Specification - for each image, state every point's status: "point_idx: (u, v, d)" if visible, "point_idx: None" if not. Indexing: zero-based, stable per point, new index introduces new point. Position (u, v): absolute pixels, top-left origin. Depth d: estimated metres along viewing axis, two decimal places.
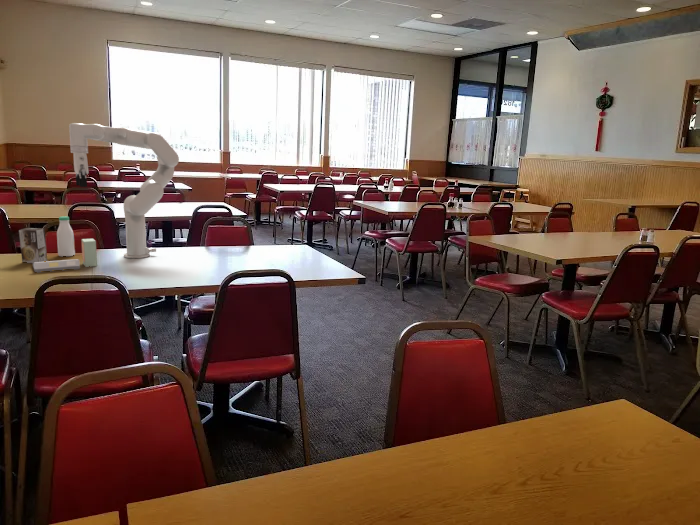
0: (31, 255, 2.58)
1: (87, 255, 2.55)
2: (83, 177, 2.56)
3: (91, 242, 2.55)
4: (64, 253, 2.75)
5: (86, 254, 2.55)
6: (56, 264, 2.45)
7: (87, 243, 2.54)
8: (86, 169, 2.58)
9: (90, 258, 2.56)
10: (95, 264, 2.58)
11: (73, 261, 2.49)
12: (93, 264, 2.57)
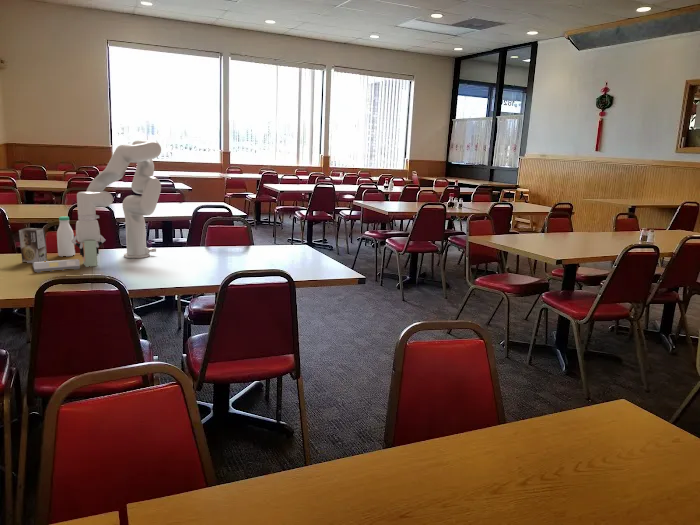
0: (31, 255, 2.58)
1: (87, 255, 2.55)
2: None
3: (91, 242, 2.55)
4: (64, 253, 2.75)
5: (86, 254, 2.55)
6: (56, 264, 2.45)
7: (87, 243, 2.54)
8: None
9: (90, 258, 2.56)
10: (95, 264, 2.58)
11: (73, 261, 2.49)
12: (93, 264, 2.57)
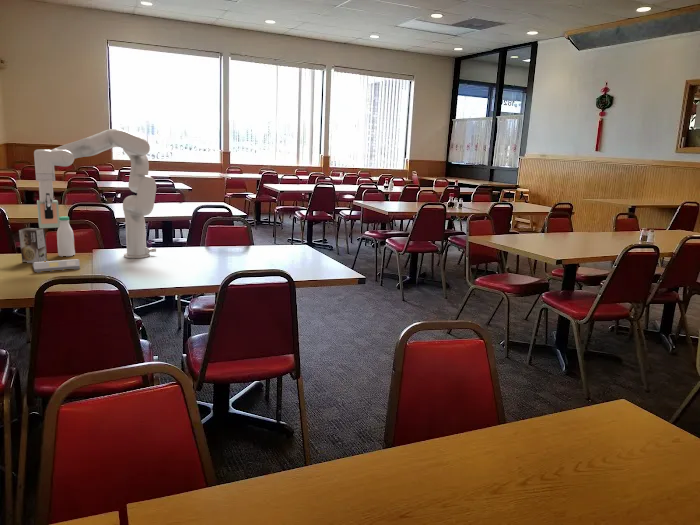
0: (31, 255, 2.58)
1: (58, 215, 2.48)
2: None
3: None
4: (64, 253, 2.75)
5: (58, 213, 2.47)
6: (56, 264, 2.45)
7: (57, 202, 2.47)
8: None
9: None
10: None
11: (73, 261, 2.49)
12: None
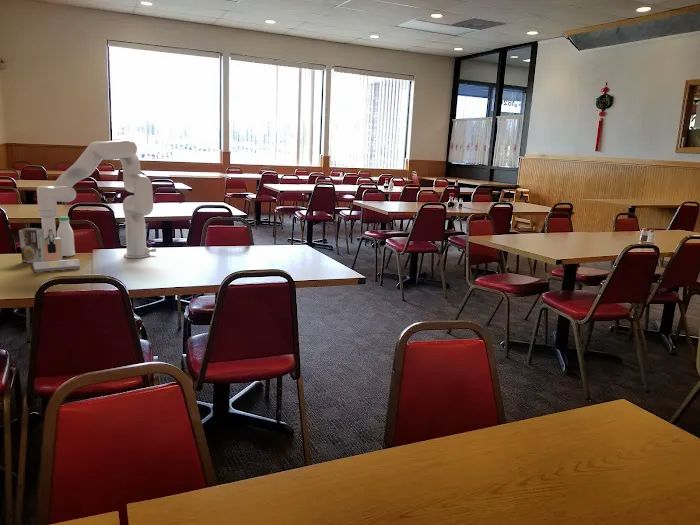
0: (31, 255, 2.58)
1: (61, 252, 2.51)
2: None
3: None
4: (64, 253, 2.75)
5: (61, 251, 2.51)
6: (56, 264, 2.45)
7: (60, 240, 2.50)
8: None
9: None
10: None
11: (73, 261, 2.49)
12: None
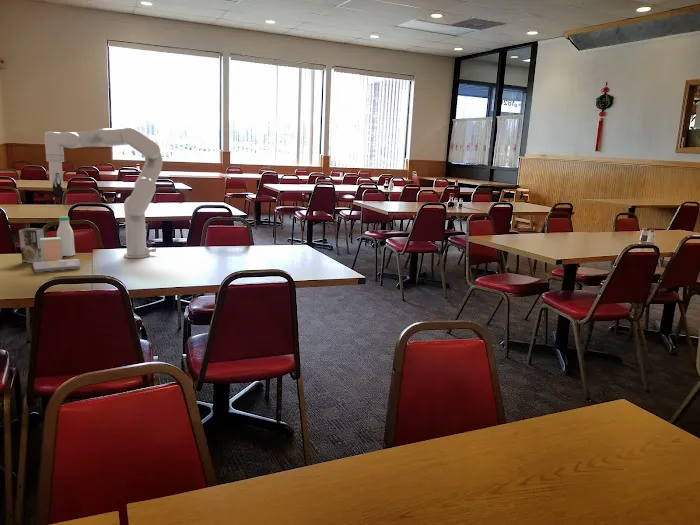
0: (31, 255, 2.58)
1: (61, 252, 2.51)
2: None
3: None
4: (64, 253, 2.75)
5: (61, 251, 2.51)
6: (56, 264, 2.45)
7: (60, 240, 2.50)
8: None
9: None
10: None
11: (73, 261, 2.49)
12: None
